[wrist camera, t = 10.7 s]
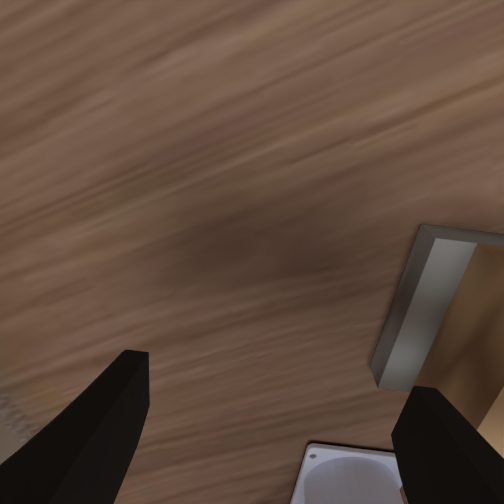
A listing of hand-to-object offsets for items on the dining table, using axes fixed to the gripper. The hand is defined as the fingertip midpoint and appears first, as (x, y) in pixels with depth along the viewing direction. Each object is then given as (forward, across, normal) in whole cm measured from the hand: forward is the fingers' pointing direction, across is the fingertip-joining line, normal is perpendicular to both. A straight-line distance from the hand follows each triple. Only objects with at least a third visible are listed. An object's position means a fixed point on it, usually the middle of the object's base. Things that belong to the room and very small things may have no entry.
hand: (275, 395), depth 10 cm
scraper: (+11, -11, +3) cm, 16 cm away
